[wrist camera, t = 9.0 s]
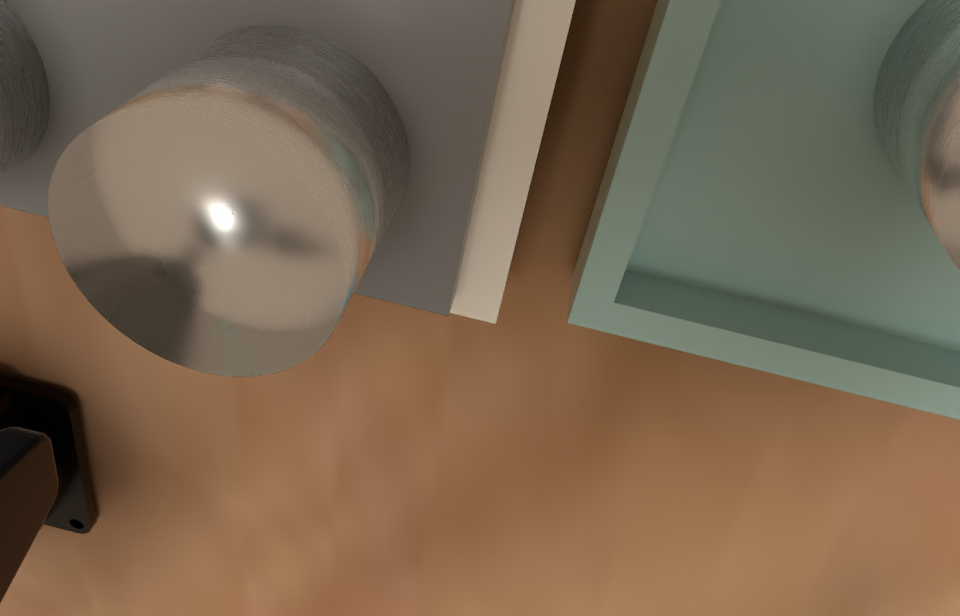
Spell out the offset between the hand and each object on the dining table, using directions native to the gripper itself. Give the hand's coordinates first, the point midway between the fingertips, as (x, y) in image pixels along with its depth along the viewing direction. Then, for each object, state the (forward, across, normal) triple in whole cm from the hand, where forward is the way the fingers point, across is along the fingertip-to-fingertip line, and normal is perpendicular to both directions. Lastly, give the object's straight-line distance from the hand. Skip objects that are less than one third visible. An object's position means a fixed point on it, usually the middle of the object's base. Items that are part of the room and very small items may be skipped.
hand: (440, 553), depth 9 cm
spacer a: (+8, +4, 0) cm, 9 cm away
